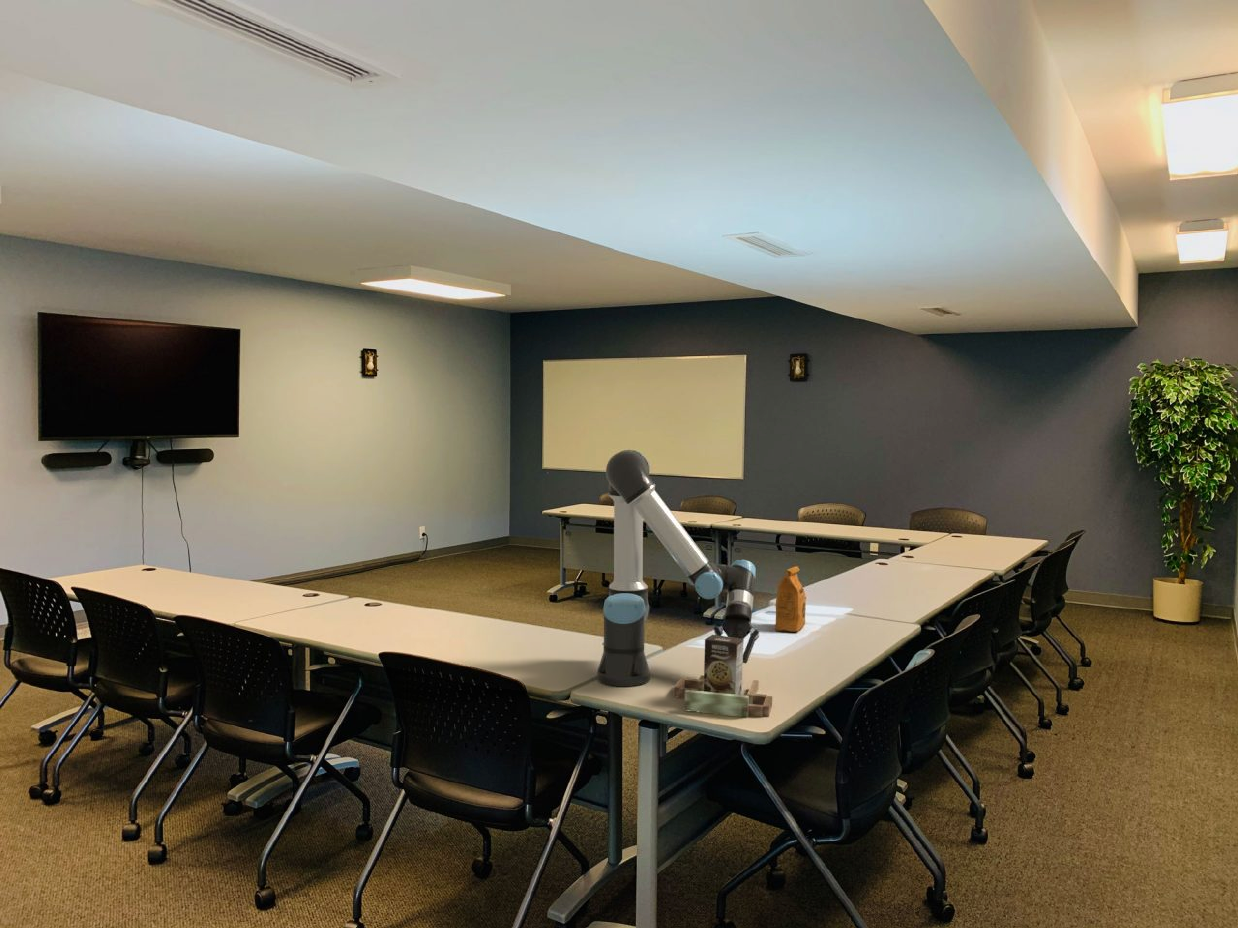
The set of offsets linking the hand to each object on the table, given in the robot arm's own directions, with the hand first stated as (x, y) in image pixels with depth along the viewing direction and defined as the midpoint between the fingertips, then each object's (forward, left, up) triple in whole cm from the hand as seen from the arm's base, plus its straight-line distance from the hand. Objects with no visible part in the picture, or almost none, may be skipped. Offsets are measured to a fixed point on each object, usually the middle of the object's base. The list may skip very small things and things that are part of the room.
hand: (730, 684), depth 235 cm
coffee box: (-1, -4, -3) cm, 5 cm away
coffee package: (+10, +79, -3) cm, 80 cm away
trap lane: (-1, -6, -3) cm, 7 cm away
